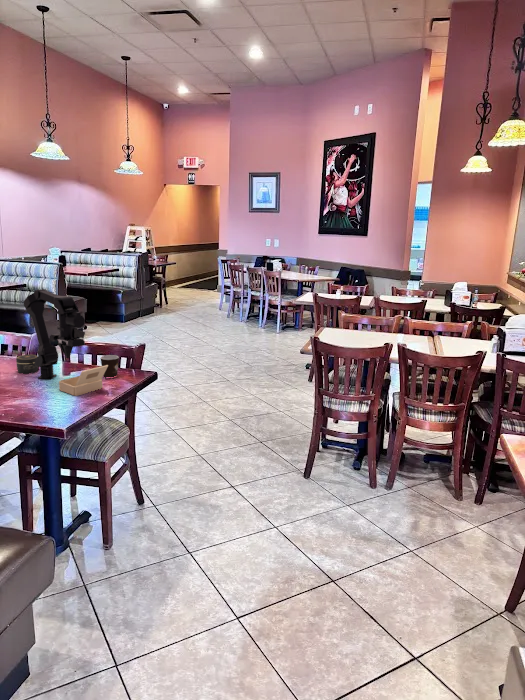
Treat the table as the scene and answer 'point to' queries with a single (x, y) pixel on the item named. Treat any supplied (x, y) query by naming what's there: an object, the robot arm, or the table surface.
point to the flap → (91, 375)
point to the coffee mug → (110, 365)
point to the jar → (26, 364)
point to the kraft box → (72, 389)
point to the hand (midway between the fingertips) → (67, 358)
